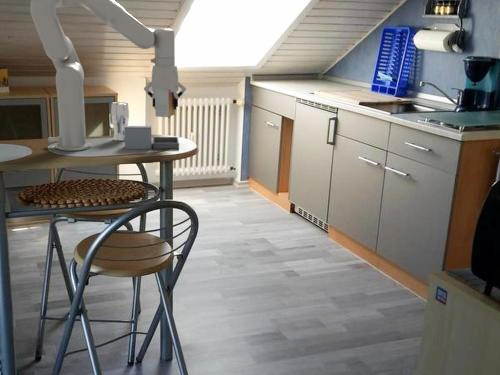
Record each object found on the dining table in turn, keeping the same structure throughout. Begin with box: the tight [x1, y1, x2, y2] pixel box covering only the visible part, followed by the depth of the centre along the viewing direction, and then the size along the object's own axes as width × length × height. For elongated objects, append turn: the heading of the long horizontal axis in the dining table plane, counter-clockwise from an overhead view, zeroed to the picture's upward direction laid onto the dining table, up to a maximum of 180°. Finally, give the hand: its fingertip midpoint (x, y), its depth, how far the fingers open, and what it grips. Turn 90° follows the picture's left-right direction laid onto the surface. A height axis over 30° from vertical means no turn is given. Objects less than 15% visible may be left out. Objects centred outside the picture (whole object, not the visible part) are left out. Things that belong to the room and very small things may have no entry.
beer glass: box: [110, 101, 130, 142], centre depth 245 cm, size 7×7×15 cm
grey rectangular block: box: [124, 125, 153, 150], centre depth 233 cm, size 10×5×8 cm, turn 99°
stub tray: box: [152, 136, 180, 151], centre depth 237 cm, size 10×12×2 cm
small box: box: [154, 89, 176, 118], centre depth 232 cm, size 8×6×10 cm
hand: (165, 108), depth 233 cm, fingers closed on small box, 7 cm apart
